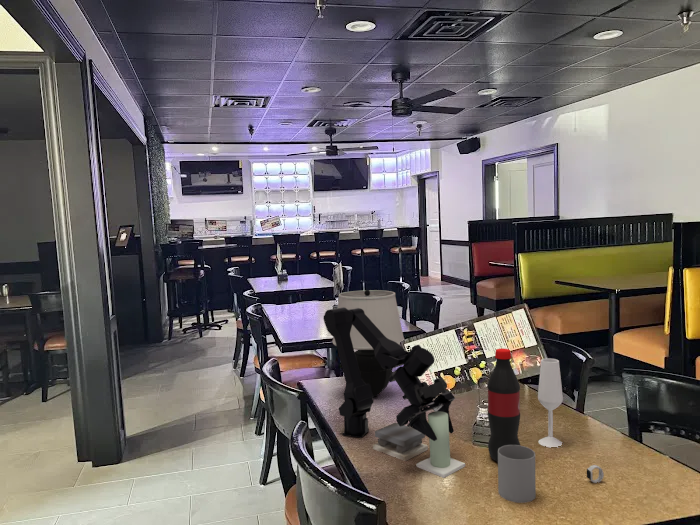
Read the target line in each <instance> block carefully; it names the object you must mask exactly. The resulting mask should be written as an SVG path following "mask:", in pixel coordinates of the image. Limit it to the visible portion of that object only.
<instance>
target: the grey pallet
mask: <svg viewBox="0 0 700 525" xmlns="http://www.w3.org/2000/svg"><path fill="white" fill-rule="evenodd" d="M374 437H376V438H377V442H376V443H374V444H372V450H374V451H377V452H380V453H382V452H383V454H386V455H388V456H391V457H393V458H395V457H396V459H399V460H401V461H403V462H406V461H408V460H410V459H412V458H414V457H416V456H418V455H420V454H422V453H424V452H426V451H428V450H429V444H424V443H423V439H425V437H426V436H425V435H424V434H422V433H421V432H419V431H417V430H415V429H414V428H412V427H408V426H407V425H404V426H401V427H400V426H399V424H398V423H397V421H395V422H394V423H390V424H389V425H387V426H383V427H382V428H379V429H377V430H374Z"/></svg>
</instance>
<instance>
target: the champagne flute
mask: <svg viewBox="0 0 700 525" xmlns="http://www.w3.org/2000/svg"><path fill="white" fill-rule="evenodd" d="M560 367H561V366H560V360H558V359H556V358H550V357H548V358H542V359H541V360H540V369H539V381H538V389H537V390H538V393H537V399H538V402H539V403H540V404H541V405H542V406H543V407H544V408H545V409H546V410H547V413H548V414H547V420H548V422H547V423H548V426H547V428H548V430H547V432H548V434H547V436H544V437H542V438H540V439H539V440H538V444H539V445H541V446H543V447H545V446H546V448H551V447H557V448H559V447H558V446H561V445H562V443H563V442H562V441H561V440H559V438H556V437H554V434H553V433H554V431H553V428H554V425H553V416H554V414H553V412H554V411H553V410H555V409H557V408H558V407H559V406H560V405H561V404H562V403H563V401H564V397H563V387H562V379H561V378H562V377H561V369H560ZM561 447H562V446H561Z"/></svg>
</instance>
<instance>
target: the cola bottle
mask: <svg viewBox="0 0 700 525" xmlns="http://www.w3.org/2000/svg"><path fill="white" fill-rule="evenodd" d="M494 354H495V355H494V358H495V365H494V368H493V370H492V372H491V374H490V377H489V379H488V381H487V383H486V384H487V386H486V389H487V417H488V418H487V419H488V424H489V429H490V436H489V440H488V444H487V449H488V453H489V457H490V458H491V459H492V460H493V461H495V462H497V463H498V449H499V448H500V447H502V446H506V445H520V446H521V442H520V440H519V436H518V434H519V428H520V422H521V408H520V407H521V405H520V404H521V403H520V400H521V399H520V398H521V397H520V391H521V385H520V382H519V380H518V378H517V375H516V373H515V371H514V369H513V367H512V365H511V364H512V363H511V360H512V352H511V349H509V348H501V347H500V348H497V349H495V353H494Z"/></svg>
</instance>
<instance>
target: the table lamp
mask: <svg viewBox="0 0 700 525" xmlns="http://www.w3.org/2000/svg"><path fill="white" fill-rule="evenodd" d="M337 300H338V301H337V308H343V307H344V308H346V309H348V310H350V309H356V308H360V309H363V311H364V313H365V315H366V316H367V317H368V318H369V319H370V320H371V321H372V322H373V324H374V325H375V326H376V327H377V328H378V329H379V330H380V331H381V332H382V333H383V335H384V336H385V337H386V338H388V339H390V340H392V341H394V342H396V343H398V344H399V345H400V342H401V341H403V340H404V341H405V337H404V332H403V329H402V323H401V318H400V314H399V308H398V303H397V298H396V292H394V291H391V290H390V291H389V290H381V289H380V290H379V289H378V290H377V289H374V290H371V289H370V290H369V289H367V290H366V289H365V290H353V291H345V292H341V293H339V294H338V299H337ZM350 337H351V340H352V344H353V348H354V352H355V356H356V359H357V363H358V367H359V371H360V375H361V378H362V380H363V381H364V382H365V383H366V384H370V386H371V391H372V394H373V395H374V397H377V396H378V395H380V394H381V393H382V392H383V391H384V390H385V389H386V388H387V387H388V385H389V383H390V382H389V377H390V372H393V369H394V368H392V369H384V368H382V366H381V365H380V364H379V362H378V360H377V359H376V357H375V352H374V349H373V348H372V347H371V345H370V344H369V343H368V342H367V341H366V340H365V338H364V337H363V336H362V335H361V334H360V333H359V332H358V330H357V329H356V328H355V327H354V326H353V325H352V328H351V332H350ZM331 341H332V344H333V345H334V346H335V347H337V346H336V342H335V339H334V337H333V336H332V340H331ZM400 346H401V345H400Z"/></svg>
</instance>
